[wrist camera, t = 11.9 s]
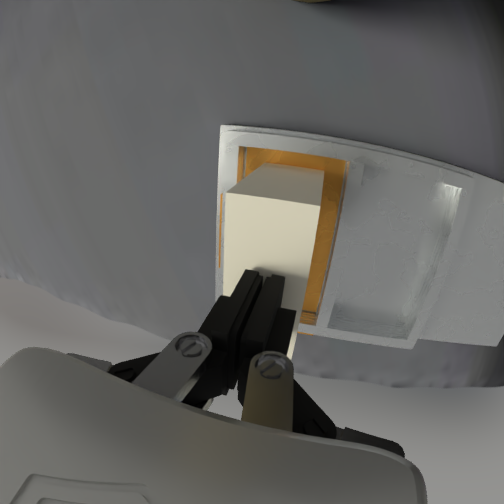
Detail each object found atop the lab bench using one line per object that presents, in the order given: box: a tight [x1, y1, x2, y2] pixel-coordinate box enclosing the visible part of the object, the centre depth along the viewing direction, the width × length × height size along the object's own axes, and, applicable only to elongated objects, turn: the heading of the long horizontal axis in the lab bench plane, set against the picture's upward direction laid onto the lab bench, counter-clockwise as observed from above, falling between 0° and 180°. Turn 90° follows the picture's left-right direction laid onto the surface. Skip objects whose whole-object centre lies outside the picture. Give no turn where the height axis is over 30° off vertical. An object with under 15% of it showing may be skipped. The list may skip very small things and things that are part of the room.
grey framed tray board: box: [216, 124, 504, 349], centre depth 17 cm, size 25×13×2 cm, turn 85°
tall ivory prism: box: [223, 163, 324, 360], centre depth 16 cm, size 4×9×7 cm, turn 176°
